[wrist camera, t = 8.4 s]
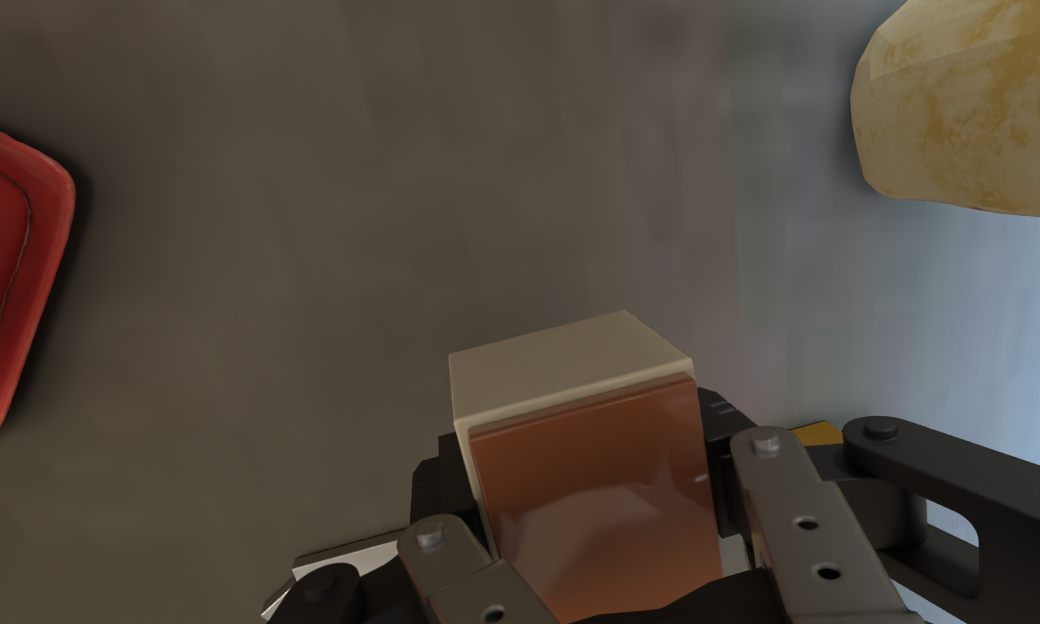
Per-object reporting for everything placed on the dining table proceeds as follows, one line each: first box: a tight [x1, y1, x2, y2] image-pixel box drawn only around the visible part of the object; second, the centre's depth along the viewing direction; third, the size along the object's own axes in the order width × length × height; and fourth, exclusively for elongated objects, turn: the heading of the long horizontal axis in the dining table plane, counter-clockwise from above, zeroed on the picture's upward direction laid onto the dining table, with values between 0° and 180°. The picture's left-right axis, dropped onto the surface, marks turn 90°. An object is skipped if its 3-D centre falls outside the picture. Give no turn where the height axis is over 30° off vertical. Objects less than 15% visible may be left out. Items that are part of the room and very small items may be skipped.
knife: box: [261, 421, 843, 621], centre depth 26 cm, size 26×3×2 cm, turn 102°
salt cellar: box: [448, 310, 725, 624], centre depth 13 cm, size 5×6×4 cm
